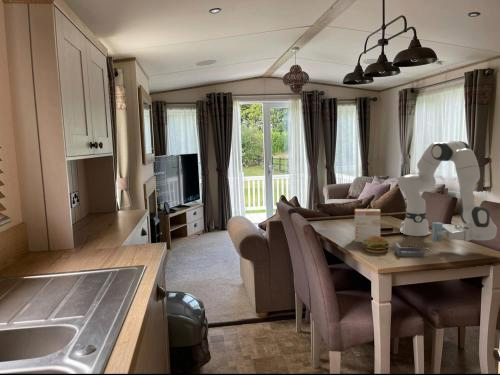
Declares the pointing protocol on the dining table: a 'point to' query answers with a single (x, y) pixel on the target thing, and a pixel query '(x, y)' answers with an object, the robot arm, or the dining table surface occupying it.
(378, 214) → the coffeecake box
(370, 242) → the food
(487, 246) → the dining table surface
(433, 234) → the pale blue rectangular prism
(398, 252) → the rail channel
